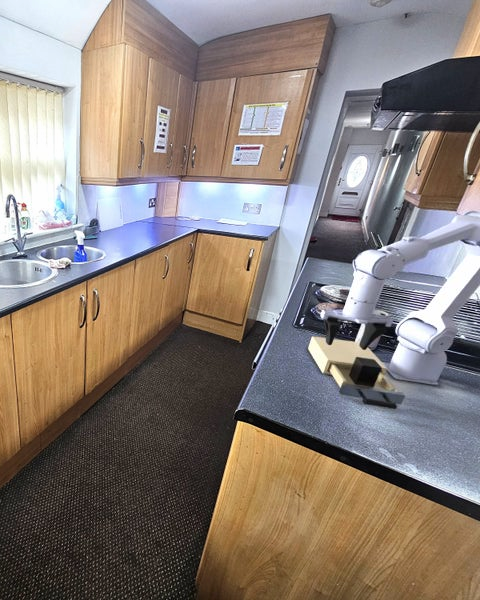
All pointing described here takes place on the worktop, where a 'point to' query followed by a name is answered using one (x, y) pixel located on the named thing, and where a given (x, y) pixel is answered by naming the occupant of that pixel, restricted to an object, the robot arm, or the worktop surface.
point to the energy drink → (361, 331)
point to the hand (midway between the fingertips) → (345, 345)
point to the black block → (365, 371)
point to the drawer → (366, 388)
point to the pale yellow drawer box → (339, 353)
